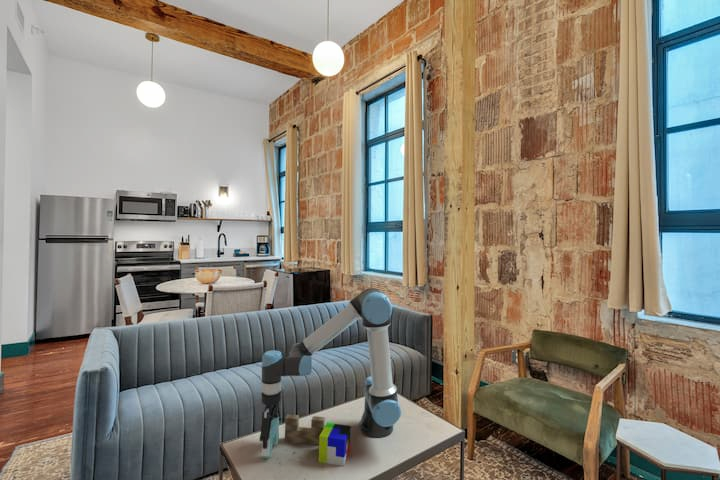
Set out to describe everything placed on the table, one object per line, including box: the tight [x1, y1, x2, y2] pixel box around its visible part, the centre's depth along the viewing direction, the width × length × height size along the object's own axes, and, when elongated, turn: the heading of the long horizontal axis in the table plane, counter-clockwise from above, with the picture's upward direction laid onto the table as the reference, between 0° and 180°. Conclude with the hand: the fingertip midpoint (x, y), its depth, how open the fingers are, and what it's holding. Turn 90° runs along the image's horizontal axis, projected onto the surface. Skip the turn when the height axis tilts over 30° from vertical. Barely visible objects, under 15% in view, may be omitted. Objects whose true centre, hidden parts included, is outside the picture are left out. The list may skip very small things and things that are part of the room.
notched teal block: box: [261, 417, 280, 459], centre depth 138 cm, size 11×3×10 cm, turn 176°
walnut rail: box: [284, 413, 326, 445], centre depth 146 cm, size 16×3×10 cm, turn 86°
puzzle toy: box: [318, 422, 352, 467], centre depth 137 cm, size 10×10×10 cm
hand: (270, 446), depth 138 cm, fingers closed on notched teal block, 11 cm apart
